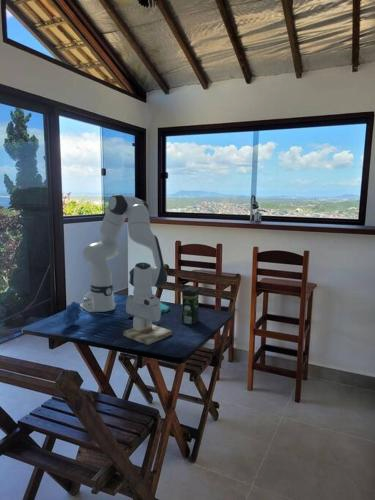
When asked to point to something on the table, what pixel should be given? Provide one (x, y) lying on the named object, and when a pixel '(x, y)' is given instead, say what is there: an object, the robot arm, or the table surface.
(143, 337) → the birch board
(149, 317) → the robot arm
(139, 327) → the block
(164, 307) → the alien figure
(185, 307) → the coffee jar
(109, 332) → the table surface
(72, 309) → the grapes
